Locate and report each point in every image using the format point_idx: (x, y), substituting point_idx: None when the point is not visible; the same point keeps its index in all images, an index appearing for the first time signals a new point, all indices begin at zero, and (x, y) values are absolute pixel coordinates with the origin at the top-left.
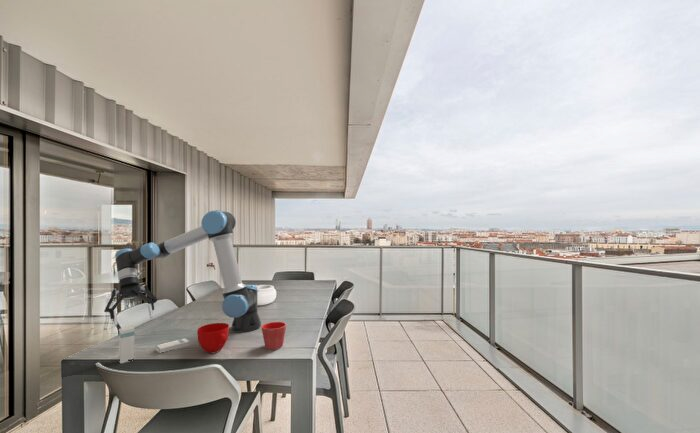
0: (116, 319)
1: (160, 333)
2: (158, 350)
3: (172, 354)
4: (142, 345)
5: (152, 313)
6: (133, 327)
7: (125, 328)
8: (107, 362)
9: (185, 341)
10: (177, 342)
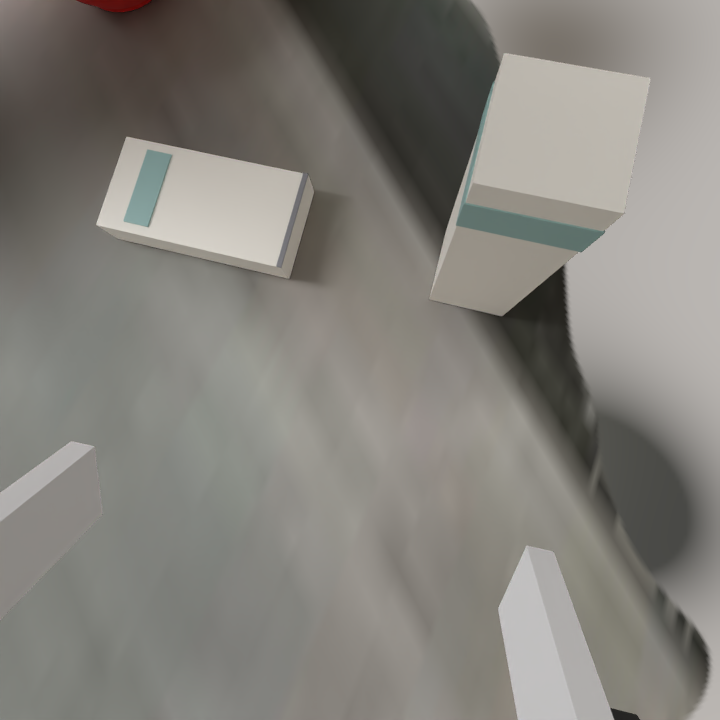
0: (556, 622)
1: (67, 629)
2: (305, 200)
3: (278, 113)
4: (287, 465)
5: (35, 470)
6: (493, 103)
7: (571, 150)
8: (558, 346)
9: (137, 157)
10: (173, 189)
